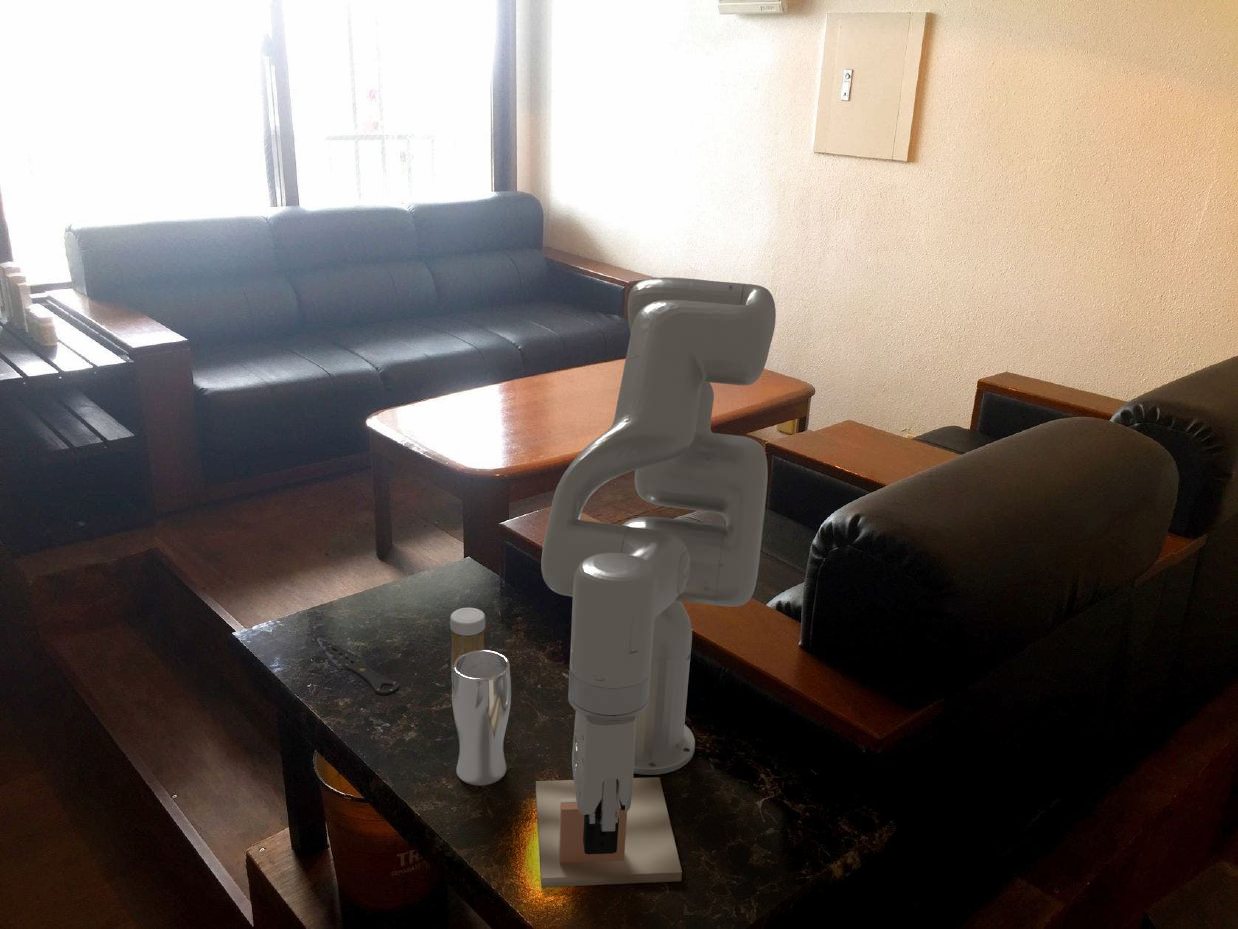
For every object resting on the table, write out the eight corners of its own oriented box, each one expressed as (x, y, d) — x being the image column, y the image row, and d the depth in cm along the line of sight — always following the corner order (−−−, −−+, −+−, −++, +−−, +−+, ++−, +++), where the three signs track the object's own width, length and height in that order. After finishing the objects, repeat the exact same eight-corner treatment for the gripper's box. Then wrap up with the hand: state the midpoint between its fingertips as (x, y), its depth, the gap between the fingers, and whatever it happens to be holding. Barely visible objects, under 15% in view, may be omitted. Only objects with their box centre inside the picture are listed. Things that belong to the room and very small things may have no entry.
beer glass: (456, 792, 121) (455, 683, 116) (449, 756, 128) (448, 652, 123) (514, 784, 123) (516, 677, 118) (504, 750, 130) (506, 646, 124)
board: (535, 789, 123) (535, 781, 122) (658, 785, 124) (659, 777, 124) (541, 887, 108) (541, 878, 107) (681, 881, 110) (681, 872, 109)
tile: (558, 851, 111) (560, 798, 109) (622, 849, 112) (625, 796, 110) (559, 863, 110) (561, 809, 107) (624, 860, 110) (627, 807, 108)
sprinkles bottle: (452, 692, 141) (451, 606, 136) (485, 692, 142) (485, 606, 137) (450, 711, 137) (449, 623, 132) (484, 711, 137) (484, 623, 133)
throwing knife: (379, 700, 139) (379, 696, 139) (302, 643, 152) (302, 640, 152) (406, 688, 142) (406, 685, 142) (328, 634, 155) (328, 630, 155)
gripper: (563, 645, 101) (557, 801, 107) (574, 732, 87) (566, 905, 93) (638, 645, 102) (628, 799, 108) (661, 730, 88) (648, 902, 94)
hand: (599, 848), depth 100 cm, fingers closed
